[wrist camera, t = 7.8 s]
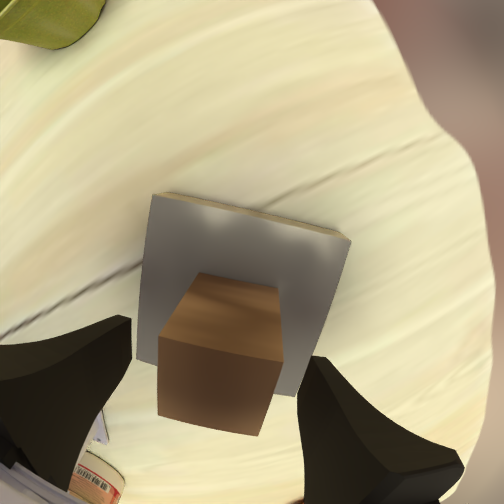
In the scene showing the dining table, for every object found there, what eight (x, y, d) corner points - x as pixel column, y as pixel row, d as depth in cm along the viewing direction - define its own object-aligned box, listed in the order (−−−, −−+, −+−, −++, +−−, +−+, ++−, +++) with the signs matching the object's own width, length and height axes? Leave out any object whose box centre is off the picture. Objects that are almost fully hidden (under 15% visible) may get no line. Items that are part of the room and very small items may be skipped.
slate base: (152, 336, 19) (136, 359, 16) (171, 191, 16) (152, 194, 14) (291, 369, 19) (294, 396, 16) (337, 230, 17) (351, 240, 14)
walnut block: (190, 338, 15) (157, 415, 10) (199, 272, 14) (158, 335, 9) (261, 353, 15) (257, 436, 10) (278, 288, 14) (283, 362, 9)
